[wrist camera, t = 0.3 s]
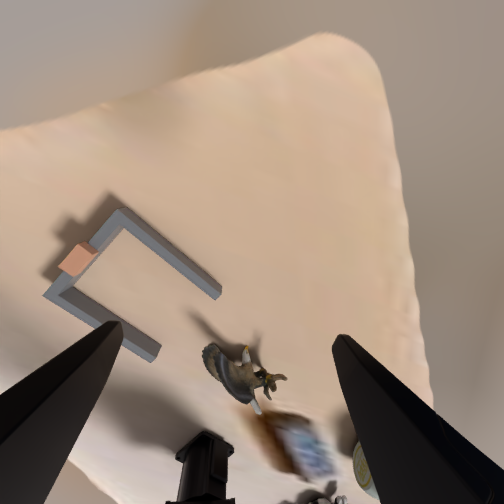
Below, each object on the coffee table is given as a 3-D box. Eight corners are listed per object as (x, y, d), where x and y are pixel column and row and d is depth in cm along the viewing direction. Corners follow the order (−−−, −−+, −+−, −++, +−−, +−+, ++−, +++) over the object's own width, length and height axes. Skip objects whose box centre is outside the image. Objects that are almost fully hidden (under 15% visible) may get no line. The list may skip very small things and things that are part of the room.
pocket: (156, 350, 26) (147, 370, 23) (56, 285, 22) (30, 299, 19) (222, 286, 24) (220, 299, 21) (125, 205, 21) (108, 207, 18)
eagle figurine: (284, 341, 26) (216, 332, 23) (292, 413, 22) (209, 414, 18) (255, 355, 31) (197, 349, 28) (257, 415, 27) (188, 416, 23)
